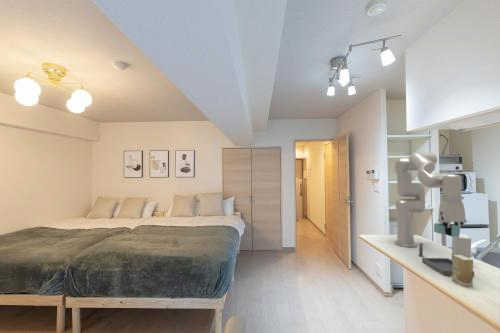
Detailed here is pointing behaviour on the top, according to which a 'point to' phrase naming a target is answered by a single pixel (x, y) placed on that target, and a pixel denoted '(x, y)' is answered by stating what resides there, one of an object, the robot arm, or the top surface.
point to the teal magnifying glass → (441, 229)
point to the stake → (420, 250)
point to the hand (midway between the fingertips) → (452, 234)
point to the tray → (440, 265)
